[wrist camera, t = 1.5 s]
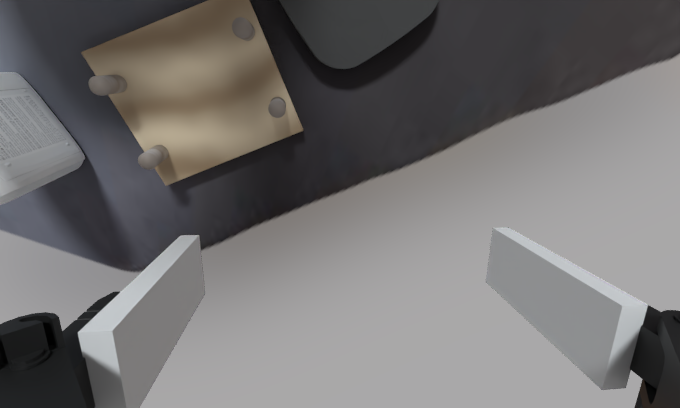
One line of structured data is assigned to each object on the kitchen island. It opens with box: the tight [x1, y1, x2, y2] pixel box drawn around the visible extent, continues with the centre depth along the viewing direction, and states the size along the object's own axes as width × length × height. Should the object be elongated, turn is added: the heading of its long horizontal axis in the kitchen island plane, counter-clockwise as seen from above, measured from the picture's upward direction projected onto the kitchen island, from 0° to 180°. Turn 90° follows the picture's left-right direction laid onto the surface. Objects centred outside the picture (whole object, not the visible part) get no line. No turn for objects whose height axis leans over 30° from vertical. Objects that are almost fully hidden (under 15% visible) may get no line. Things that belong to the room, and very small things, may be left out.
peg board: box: [81, 0, 303, 186], centre depth 32 cm, size 14×16×5 cm
